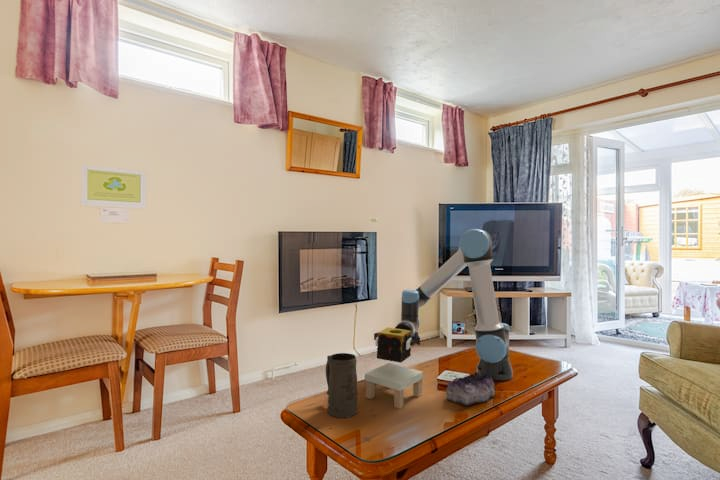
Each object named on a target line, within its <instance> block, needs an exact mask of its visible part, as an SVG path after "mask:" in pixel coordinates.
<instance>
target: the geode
mask: <svg viewBox="0 0 720 480" xmlns="http://www.w3.org/2000/svg"><path fill="white" fill-rule="evenodd" d="M495 392H496V391H495V382H494V380H493V379H492V376H491V375H489V374H488V375H487V376H481V375H480V374H475V373H472V374H471V373H470V374H469V375H465V376H464V377H459V378H458V377H456V378H454V379H453V381H450V382H448V383H447V387H446V393H445V394H446V395H445V396H446V400H447V401H450V402H454V403H458V404H461V405H463V406H471V405H473V404H475V403H476V404H481V403H487V402H488V401H490V398H495V394H496V393H495Z"/></svg>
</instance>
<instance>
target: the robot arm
mask: <svg viewBox="0 0 720 480" xmlns="http://www.w3.org/2000/svg"><path fill="white" fill-rule="evenodd" d="M492 247H493V238H492V235H491V234H490V233H489V232H487V231H486V230H484V229H482V228H471V229H468V230H466V231H464V233H463V234H462V235H461V236H460V238H459V246H458V251H456V252H455V253H454V254H453V255H452V256H451V257H450V258H449V259H447V261H445V262H444V263H443V264H442V265H441V266H440V267H439V268H438V269H437V270H436V271H435V272H434V273H432V275H430V276H429V277H428V278H427V279H426V280H425V281H424V282H423V283H421V285H419V286H418V287H417V288H416V289H405V290H404V289H403V290H402V293H401V309H400V310H401V315H400V316H401V317H400V318H401V319H400V322H398V324H396V326H395V327H394V328H396V329H404V330H410V331H411V338H409V339H408V341H407V342H406V350H408V349H409V348H411V347H412V346H413V347H414V345H418V346H420V345H421V337H420V336H419V332H418V330H419V328H420V319H419V308H422V307H423V306H425V305H426V304H427V303H428V301H429V300H431V299H432V297H434V296H435V295H436V294H437V293H439V291H440V290H442V289H443V288H444V287H445V286H447V284H448V283H450V282H451V280H453V279H454V278H455V277H456V276H457V275H459V273H461V272H462V271H463V270H464V269H465V268H466V267H468V271H469V278H470V283H471V284H470V285H471V290H472V291H471V292H472V296H473V303H474V309H475V310H474V311H475V316H476V323H477V324H476V326H474V334H475V352H476V354H477V356H478V357H479V360H478V364H477V366H476V375H478V374H480V375H481V376H487V375H488V374H489V375H491V376H492V379H493V381H508V380H512V379H513V376H514V375H513V374H514V371H513V367H512V364H511V362H510V355H509V352H510V326H509V323H504V322H500V319H499V314H498V313H499V312H498V311H499V310H498V307H497V300H496V294H495V287H494V282H493V275H492V274H493V273H492V268H491V263H492V262H493V260H494V257H493V256H494V255H493V249H492ZM378 332H379V331H378ZM378 332H374V333H373V341H375V347H378Z"/></svg>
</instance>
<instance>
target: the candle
mask: <svg viewBox="0 0 720 480" xmlns="http://www.w3.org/2000/svg"><path fill="white" fill-rule="evenodd" d="M409 338H411V331H410V330H404V329H396V328H395V327H386V328H384V329H382V330H380V331H378V346H376V347H377V348H376V350H377V351H376V358H377V360H384V361H389V362H396V363H403V362H404V361H405V360H407V359H408V358H409V357H411V356H412V355H411V351H412V350H411V349H412V348H411V347H410V348H409V349H408V350H406V342H407V341H408V339H409Z"/></svg>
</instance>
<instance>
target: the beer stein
mask: <svg viewBox="0 0 720 480" xmlns="http://www.w3.org/2000/svg"><path fill="white" fill-rule="evenodd" d="M356 357H357V356H356V354H355V355H354V354H353V353H345V352H339V353H333V354H331V355H327V356H326V358H327V360H326V365H325V378H326V382H327V391H326V395H328V397H327V404H328V405H327V408H326V409H327V411H326V412H327V414H328V415H330V416H332V417H334V418H338V419H339V418H341V419H343V418H344V419H345V418H350V417H352V416H354V415H356V414H357V413H358V406H357V405H358V395H359V394H358V393H359V392H358V374H357V358H356Z"/></svg>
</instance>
